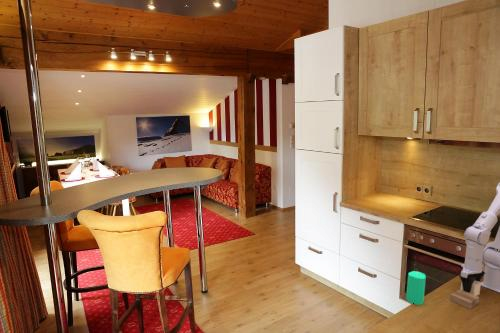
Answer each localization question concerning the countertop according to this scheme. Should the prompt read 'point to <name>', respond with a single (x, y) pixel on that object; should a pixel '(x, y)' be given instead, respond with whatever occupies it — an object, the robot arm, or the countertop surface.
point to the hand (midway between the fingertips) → (470, 289)
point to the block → (474, 288)
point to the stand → (464, 299)
